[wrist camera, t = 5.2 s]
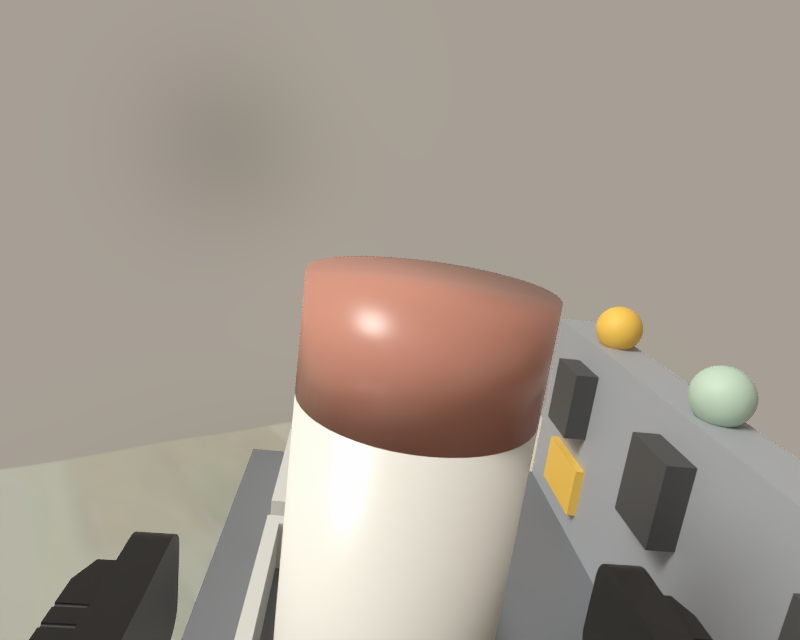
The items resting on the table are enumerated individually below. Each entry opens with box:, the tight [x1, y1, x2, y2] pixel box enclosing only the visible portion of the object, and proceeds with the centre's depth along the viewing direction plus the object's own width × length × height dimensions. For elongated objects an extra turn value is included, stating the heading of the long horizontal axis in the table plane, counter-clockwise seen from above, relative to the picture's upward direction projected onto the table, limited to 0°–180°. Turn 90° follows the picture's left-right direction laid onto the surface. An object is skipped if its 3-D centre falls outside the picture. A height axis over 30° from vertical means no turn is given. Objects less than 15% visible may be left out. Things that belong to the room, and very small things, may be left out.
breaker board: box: [181, 307, 800, 640], centre depth 20 cm, size 25×18×12 cm
